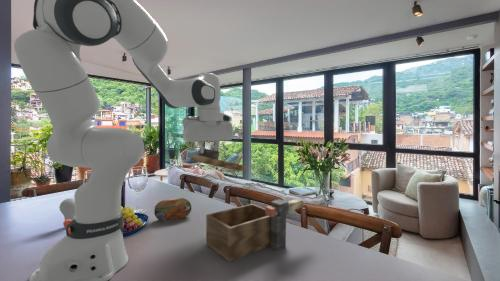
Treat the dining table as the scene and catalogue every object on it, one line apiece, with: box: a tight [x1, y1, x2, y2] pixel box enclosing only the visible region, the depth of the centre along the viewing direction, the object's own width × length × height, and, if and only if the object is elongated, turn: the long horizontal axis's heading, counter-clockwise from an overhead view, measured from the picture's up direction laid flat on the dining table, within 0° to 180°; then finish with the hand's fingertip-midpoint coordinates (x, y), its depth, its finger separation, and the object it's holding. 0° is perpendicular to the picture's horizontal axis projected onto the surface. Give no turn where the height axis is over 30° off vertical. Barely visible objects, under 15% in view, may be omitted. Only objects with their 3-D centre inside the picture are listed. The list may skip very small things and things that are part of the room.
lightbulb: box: [58, 197, 75, 221], centre depth 98 cm, size 6×6×11 cm
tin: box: [153, 197, 192, 222], centre depth 107 cm, size 15×3×8 cm, turn 114°
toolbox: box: [205, 199, 290, 263], centre depth 83 cm, size 20×18×15 cm
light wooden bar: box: [264, 198, 304, 217], centre depth 85 cm, size 15×3×2 cm, turn 129°
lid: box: [187, 147, 249, 172], centre depth 99 cm, size 20×18×5 cm
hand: (208, 152), depth 97 cm, fingers closed on lid, 3 cm apart
